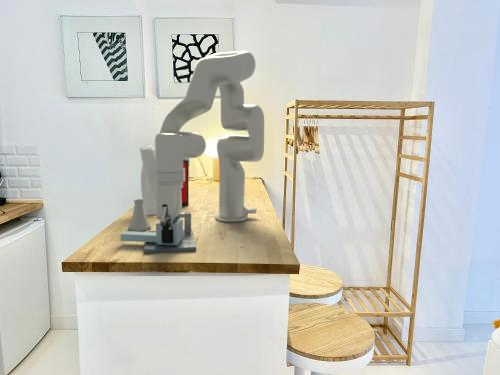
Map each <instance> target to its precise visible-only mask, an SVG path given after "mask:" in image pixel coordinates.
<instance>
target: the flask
mask: <svg viewBox="0 0 500 375" xmlns="http://www.w3.org/2000/svg"><path fill="white" fill-rule="evenodd" d="M133 202H134V208H133V213H132V216H131V219H130V222H129V224H128V227H127V229H128V230H129V231H135V232H146V231H149V230H150V229H152V226H151V224H150V221H149V219H148V217H147V216H148V215H146V214H145V211H144V206H143V202H144V200H143V199H142V198H137V199H133Z"/></svg>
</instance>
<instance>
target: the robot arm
mask: <svg viewBox="0 0 500 375" xmlns="http://www.w3.org/2000/svg"><path fill="white" fill-rule="evenodd" d="M255 71H256V59H255V56H254V55H253V54H252V53H251V52H250V51H246V50H242V51H241V50H240V51H239V50H238V51H228V52H227V51H226V52H224V51H223V52H218V53H217V52H216V53H213V54H210V55H209V56H207V57H202V58H200V59H199V60H198V61H197V62H196V64H195V67H194V68H193V73H192V76H191V79H190V82H189V85H188V89H187V91H186V94H185V97H184V98H183V99H182V100H180V102H179V103H178V104H176V106H174V107H173V109H171V111H169V113H168V114H167V115H166V116H165V118H164V119H163V122H162V125H161V127H160V130H159V133H158V134H156V135H155V137H154V142H155V144H154V149H155V157H156V183H157V184H158V186H157V197H156V214H155V217H156V218H155V219H156V220H159V221H160V223H161V237H162V243H169V244H172V243H173V229H172V222H173V219H181V218H179V214H180V213H181V212H182V210H183V207H182V195H181V184H182V183H183V182H184V181H183V160H184V158H185V159H196V158H199V157H200V156H202V155H203V154H204V152H205V151H206V149H207V148H206V147H207V146H206V140H205V138H204V137H203V136H202V135H201V134H200V133H198V132H195V131H194V132H191V131H181V129H182V127H183V126H184V125H185V124H187V122H190V121H191V120H193V119H195V118H197V117H199V116H201V115H203V114H206V113H207V112H209V111H211V109H212V107H213V104H214V101H215V97H216V93H217V90H218V89H219V94H220V123H221V126H222V128H223V129H224V131H225V130H226V131H230V132H247V133H248V134H243V135H242V134H225V135H223V136H220V138H219V139H218V141H217V142H216V143H217V144H216V150H217V151H216V152H217V156H218V157H217V158H218V163H219V164H218V165H219V166H218V167H219V177H218V178H219V184H218V185H219V188H218V189H219V190H218V191H219V192H218V194H219V196H218V197H219V198H218V199H219V200H218V212H217V213H216V214H215V215H214V219H215V220H217V221H220V222H223V223H224V222H225V223H238V222H239V223H240V222H244V221H247V220H248V218H249V214H257V208H253V207H246V206H245V191H246V190H245V184H246V177H245V176H246V173H245V170H244V167H243V165H242V164H241V162H244V163H245V162H246V163H256V162H260V161H261V160H262V158H263V156H264V151H265V115H264V111H263V109H262V108H261V107H260V106H259V105H257V104H246V103H245V91H244V88H243V85H242V84H241V83H242V82H244V81H245V80H247V79H249V78H250V79H251V77H252V76H253V74H254V73H255ZM166 217H169V218H166ZM166 221H169V223H168V222H166Z"/></svg>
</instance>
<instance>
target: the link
mask: <svg viewBox="0 0 500 375" xmlns="http://www.w3.org/2000/svg"><path fill="white" fill-rule="evenodd" d="M183 219H184V218H180V219H173V222H172V229H173V243H172V244H169V243H162V237H161V223H160V220H158V221H157V222H156V223H155V229H156V230H155V231H156V232H148V231H138V232H137V231H130V230H129V231H127V230H125V231H123V232H122V233H120V241H122V242H136V243H137V242H141V243H145V242H156V244H162V245H178V244H179V243H180V242H181V240H182V239H183V230H184V223H183V222H184V220H183ZM166 222H168V223H169V221H166Z"/></svg>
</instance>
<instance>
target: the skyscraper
mask: <svg viewBox="0 0 500 375" xmlns="http://www.w3.org/2000/svg"><path fill="white" fill-rule="evenodd" d="M152 145H155V141H154V142H151V143H150V144H149V145H148V146H147V145H146V146H141V147H140V148H139V152H140V157H141V162H142V163H141V164H142V166H141V171H140V172H141V173H140V192H141V199H143V200H144V202H143V207H144V211H145V214H146V216H153V215H155V216H156V197H157V186H158V184H157V183H156V157H155V146H152Z"/></svg>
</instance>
